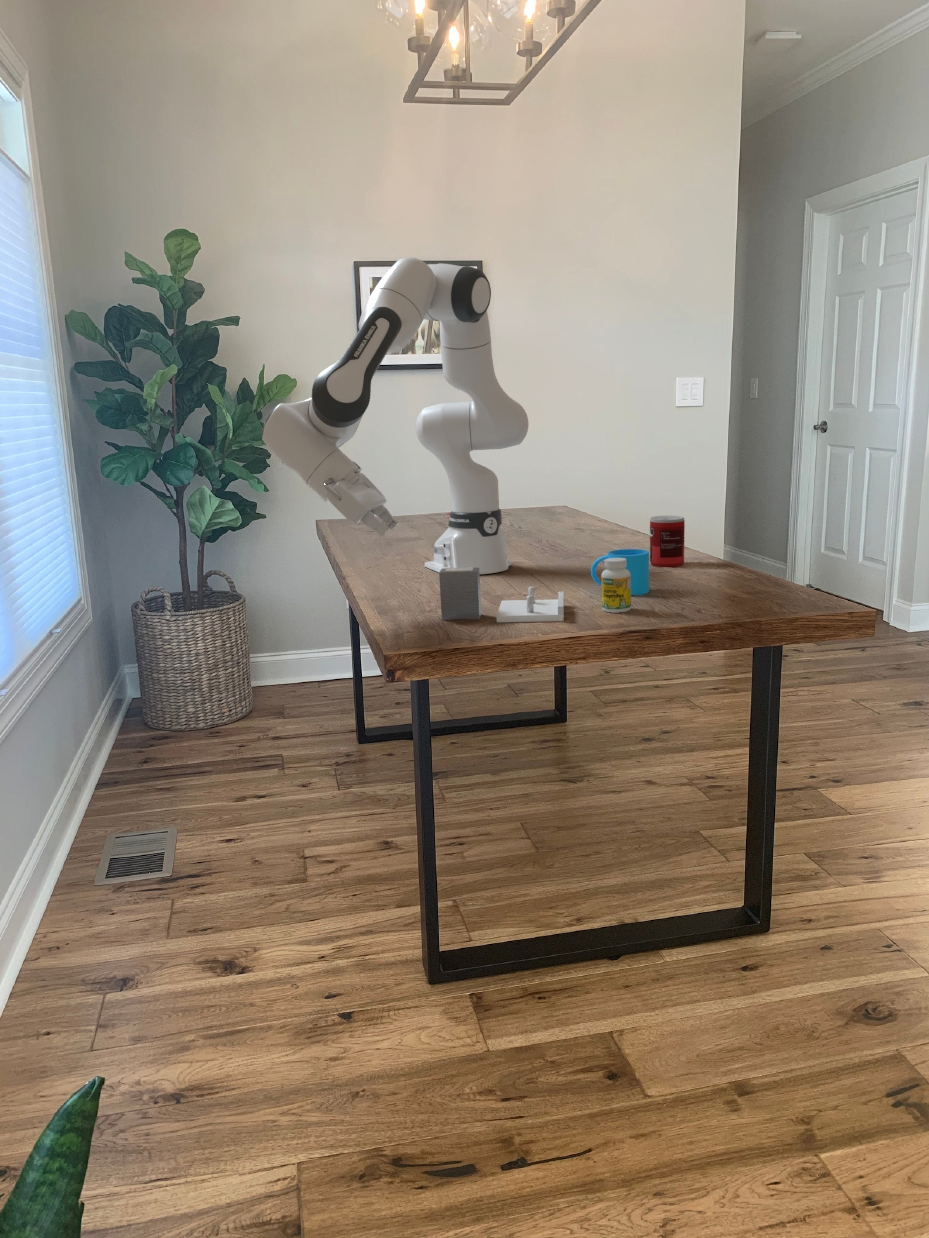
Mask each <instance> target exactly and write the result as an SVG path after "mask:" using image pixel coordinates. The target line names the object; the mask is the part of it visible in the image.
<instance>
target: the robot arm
mask: <svg viewBox="0 0 929 1238" xmlns="http://www.w3.org/2000/svg"><path fill="white" fill-rule="evenodd" d="M491 298H492V290H491V283H490V281H489V279H488V277H487V276H486V274H485V273H484V272H483V271H482V269H479V268H476V267H474V266H469V265H464V266H462V265H461V266H460V265H458V264H457V265H456V264H450V263H437V264H436V263H428V264H427V263H426V262H424V261H423V260H422V259H419V258H416V257H410V256H409V257H408V256H406V257H403V258H400V259H398V260H397V261H396V262H395V263H394V264H393V265H392V266H391V267H390V268H388V270H387V271H386V272H385V274H384V275H383V276H382V277H381V279H380V280H379V281H378V283H377V284H376V286H375V287H374V288H373V290H372V291H371V294H370V295H369V297H368V299H367V301H366V303H365V305H364V307H363V310H362V312H361V314H360V317H359V322H358V329H359V330H358V331H357V333H356V335H355V336H354V338H353V340H352V341H351V342H350V345H349V346H348V348H346V351H345V352H344V354H343V355H342V356H341V358H340V359H338V360H337V361H336V362H334V363H333V364H331V365H330V366H328V367H326V368H325V369H324V370H322V371H321V372H320V373H318V375H317V376H316V378H315V379H314V381H313V384H312V388H311V390H312V391H311V397H310V398H307V399H305V400H301V401H297V402H290V403H286V402H281V403H278V404H277V405H276V406H274V407H273V409H272V410H271V411H270V413H269V414H268V416H267V417H266V419H265V422H264V423H263V426H262V430H261V437H262V441H263V443H264V444H265V445H266V447H267V448H268V449H269V450H270V451H271V452H272V454H273V455H274V456H275V457H277V459H278V460H279V461H280V462H281V463H282V464H284V465H285V467H287V468H288V469H289V470H291V471H293V472H294V473H297V475H299V477H300V478H301V480H302V481H303V483H304V484H305V485H306V486H308V488H309V489H310V490H311V491H313V492H314V493H315V495H317V496H318V497H319V498H320V499H322V500H323V501H324V502H328V501H329V502H330V504H331V505H332V506H333V507H334V508H336V510H337V511H338V512H339V513H340V514H342V516H343V517H344V518H345V519H346V520H348V522H350V523H352V524H354V525H356V524H358V523H360V522H362V523H363V524H364V525H365V526H367V527H368V528H370V529H371V530H373V531H375V532H376V533H377V534H378V535H379V536H381V537H382V536H385V535H386V534H387V533H388V532H389V530H394V529H395V528H396V527H397V525H398V523H399V521H398V520H397V519H396V518H395V517H394V516H393V515H392V513H391V512H390V511H389V509H388V508H386V506H385V505H386V503H387V499H386V497H385V496H384V494H383V493H382V492H381V491H380V490H379V489H378V487H377V486H376V485H375V484H374V483H373V482H372V481H371V480H370V479H369V478H368V477H367V475H365V474H364V473H363V472H361V471H362V469H363V468H362V467H361V466H360V465H359V464H358V463H356V462H355V461H354V460H351V458H349V457H348V456H347V455H346V454H345V453H344V452H343V451H342V450H340V447H341V446H343V445H344V444H346V443H348V442H349V441H350V440H351V439H352V438H353V437H354V436H355V434H356V432H358V431H357V430H358V428H359V426H360V423H361V420H362V419H363V415H364V414H365V412H366V410H367V409H368V407H369V405H370V401H371V392H372V390H371V388H372V379H373V378H374V376H375V374H376V372H377V370H378V369H379V367H380V365H381V364H382V362H383V360H384V359H385V357H386V356H387V354H388V353H389V354H390V353H393V354H394V353H400V352H402V350H403V349H405V347H406V346H408V344H409V343H410V341H412V340H413V339H414V337H415V335H416V333H417V332H418V331H419V329H420V327H421V325H422V323H423V321H424V320H426V321H432V322H433V321H434V322H439V338H440V339H439V340H440V341H439V343H440V351H441V352H440V353H441V364H442V375H443V378H444V379H445V380H446V382H447V383H448V384H449V385H450V386H451V387H453V388H455V389H457V390H460V391H461V392H464V393H465V394H467V395H468V396H469V398H470V399H472V400H471V401H459V402H458V401H455V402H453V401H452V402H442V403H441V402H440V403H437V404H432V405H430V406H426V407H423V408H422V409H421V411H420V412H419V414H418V416H417V418H416V423H415V433H416V436H417V439H418V440H419V442H420V444H421V445H422V446H423V447H424V448H425V449H426V450H427V451H429V452H430V453H432V454H433V455H434V456H435V457H436V458H437V460H439V462H440V463H441V465H442V466H443V468H444V470H445V472H446V475H447V477H448V482H449V489H450V497H451V511H450V513H446V516H447V517H446V519H448V523H447V526H448V528H446V529H445V531H444V532H443V533H442V535H441V536H440V537H439V538H438V539H437V540H435V542H434V545H433V560H430V561H427V562H424V568H427V569H429V570H431V571H434V572H437V573H439V572H440V571H441V569H444V568H460V567H474V568H479V571H480V575H486V574H487V575H488V574H494V573H495V574H496V573H500V572H504V571H507V570H508V569H509V567H510V566H512V561H511V559H509V557H508V549H507V542H506V535H505V532H504V531H503V530H502V527H501V525H502V523H503V521H502V518H503V514H502V509H500V501H499V500H500V495H499V478H498V476H497V474H496V473H495V472H494V471H493V470H492V469H490V468H488V467H486V466H484V465H482V464H480V463H478V462H475V461H474V460H473V459H472V457H471V453H470V452H472V451H485V450H503V449H507V448H511V447H515V446H519V445H521V443H523V441H524V440H525V439H526V436H527V434H528V431H529V417H528V415H527V412H526V410H525V408H524V407H523V406H522V405H521V404H520V403H519V402H517V400H514V399H513V398H511V396H509V395H508V394H507V393H506V392H505V390H504V389H503V388H502V387H501V384H500V383H499V381H498V378H497V376H496V372H495V367H494V362H493V361H494V360H493V353H492V351H493V350H492V339H491V338H492V337H491V327H490V321H489V315H488V309H489V306H490V304H491V303H490V302H491ZM382 521H383V522H382Z"/></svg>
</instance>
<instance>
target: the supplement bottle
mask: <svg viewBox="0 0 929 1238" xmlns="http://www.w3.org/2000/svg"><path fill="white" fill-rule="evenodd" d="M603 565H604V568H605V569H603V571H601V574H600V576H601V580H600V581H601V585H602V587H601V610H602V611H603V612H605V613H610V612H611V613H610V614H620V612H621V613H627V612H629V611H631V609H632V596H631V575H630V572H629V571H628V570H627V569H625V567H626V566H627V560H626V559H625V558H608V559H605V560H604V564H603Z"/></svg>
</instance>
